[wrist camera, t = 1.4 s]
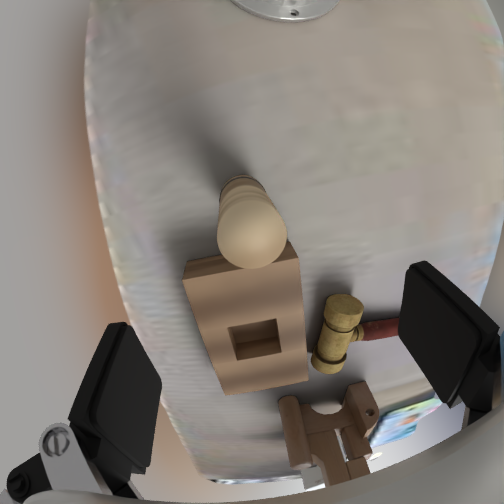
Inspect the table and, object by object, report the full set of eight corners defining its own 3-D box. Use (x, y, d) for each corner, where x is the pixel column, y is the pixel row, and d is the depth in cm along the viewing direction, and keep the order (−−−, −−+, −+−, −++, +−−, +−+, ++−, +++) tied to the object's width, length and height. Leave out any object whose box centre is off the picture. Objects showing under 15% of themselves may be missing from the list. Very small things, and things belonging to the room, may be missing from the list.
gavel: (456, 300, 32) (431, 351, 36) (438, 284, 36) (417, 335, 41) (336, 315, 29) (316, 377, 33) (321, 293, 33) (306, 353, 37)
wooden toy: (367, 379, 41) (422, 502, 18) (359, 401, 44) (403, 513, 21) (278, 395, 40) (306, 541, 18) (277, 416, 43) (300, 544, 20)
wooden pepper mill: (216, 176, 26) (208, 210, 15) (259, 168, 26) (282, 196, 15) (224, 216, 28) (224, 275, 17) (265, 208, 28) (291, 262, 17)
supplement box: (324, 425, 46) (340, 477, 35) (338, 434, 49) (354, 481, 38) (292, 439, 48) (303, 490, 36) (309, 447, 50) (321, 493, 39)
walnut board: (187, 261, 29) (182, 280, 26) (289, 241, 30) (298, 257, 26) (224, 373, 37) (225, 395, 33) (302, 359, 37) (308, 380, 33)
